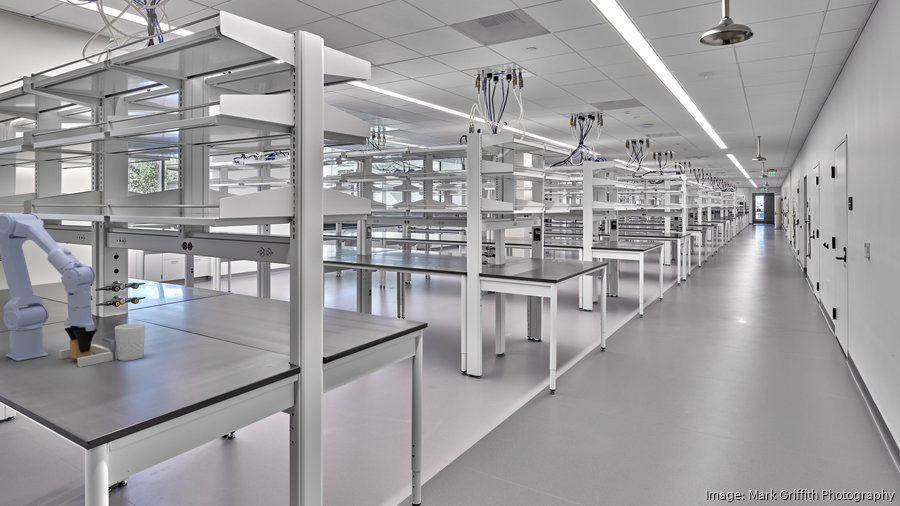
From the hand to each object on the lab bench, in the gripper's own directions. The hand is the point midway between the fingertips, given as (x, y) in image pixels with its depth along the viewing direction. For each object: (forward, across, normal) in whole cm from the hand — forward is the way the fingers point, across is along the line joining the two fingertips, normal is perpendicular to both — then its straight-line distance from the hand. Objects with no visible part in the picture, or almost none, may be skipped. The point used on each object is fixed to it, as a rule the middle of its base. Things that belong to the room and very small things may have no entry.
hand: (81, 350), depth 152 cm
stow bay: (+3, 0, +1) cm, 3 cm away
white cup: (+3, +8, +10) cm, 13 cm away
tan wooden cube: (+2, 0, 0) cm, 2 cm away
